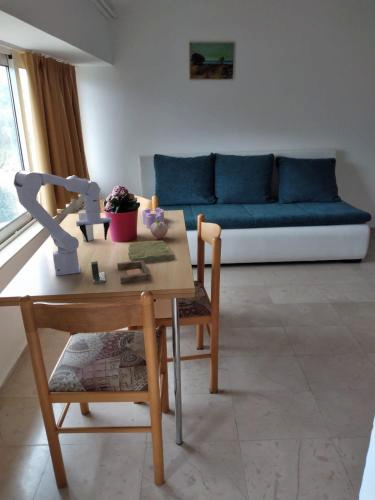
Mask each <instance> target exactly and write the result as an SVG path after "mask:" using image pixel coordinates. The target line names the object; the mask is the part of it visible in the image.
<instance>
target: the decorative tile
mask: <svg viewBox="0 0 375 500" xmlns="http://www.w3.org/2000/svg"><path fill="white" fill-rule="evenodd" d="M127 254H128V258H129V260H130V262H132V261H140V260H144V262H145V264H148V263H147V262H150V263H155V261H158V262H165V261H164V260H166V261H172V260H173V259H174V258H173V257H174V255H173V253H172V251H171V250H170V248H169V246H168V245H167V244H166V242H165V241H164V240H148V241H139V242H137V241H136V242H133V243H129V246H128V253H127Z"/></svg>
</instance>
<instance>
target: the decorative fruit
mask: <svg viewBox="0 0 375 500" xmlns="http://www.w3.org/2000/svg"><path fill="white" fill-rule="evenodd" d="M149 230H150V233H151V234H152V235H153V237H155V238H156V239H157V240H162V238H164V237H165V236H166V235H167V234H168V226H167V224H166V223H165V222H164V223H163V222H160V221H159V220H158V221H155V222H154V223H153V224H152V225H151V227H150V229H149Z"/></svg>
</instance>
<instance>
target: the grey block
mask: <svg viewBox="0 0 375 500" xmlns="http://www.w3.org/2000/svg"><path fill="white" fill-rule="evenodd" d="M98 262H99V261H98V260H97V261H91V262H90V264H91V265H90V267H91V273H92V282H93V285H96V284H104V283H106V275H105V271H100V272H99V263H98Z"/></svg>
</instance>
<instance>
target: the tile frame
mask: <svg viewBox="0 0 375 500" xmlns="http://www.w3.org/2000/svg"><path fill="white" fill-rule="evenodd" d="M146 264H147V263H145V262H144V260H140V261H132V262H131V261H125V262H117V264H116V266H117V271H124V270H133V269H141V270H142V273H141V274H135V275H128V274H127V275H122V276H121V275H120V284H121V285H122V284H131V283H138V282H139V283H140V282H146V281H151V277H150V275H151V274H150V271H149V270H148V267H147V265H146Z"/></svg>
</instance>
